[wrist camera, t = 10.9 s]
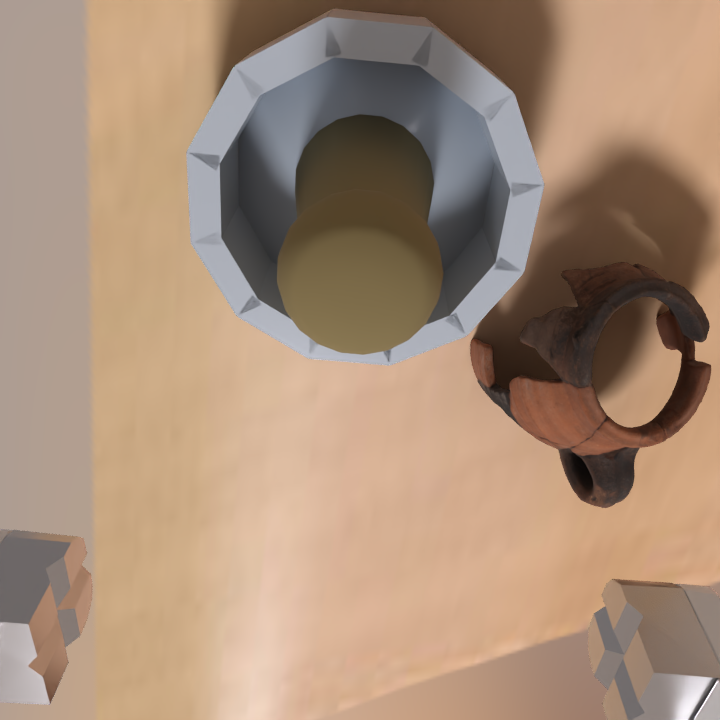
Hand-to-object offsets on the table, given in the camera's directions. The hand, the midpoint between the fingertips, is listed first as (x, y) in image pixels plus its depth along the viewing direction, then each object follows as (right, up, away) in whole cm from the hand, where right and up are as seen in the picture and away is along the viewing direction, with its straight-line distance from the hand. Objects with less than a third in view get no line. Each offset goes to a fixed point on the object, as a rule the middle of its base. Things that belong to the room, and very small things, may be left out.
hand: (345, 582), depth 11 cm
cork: (0, +11, +19) cm, 22 cm away
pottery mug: (+11, +4, +24) cm, 27 cm away
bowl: (0, +12, +19) cm, 22 cm away
